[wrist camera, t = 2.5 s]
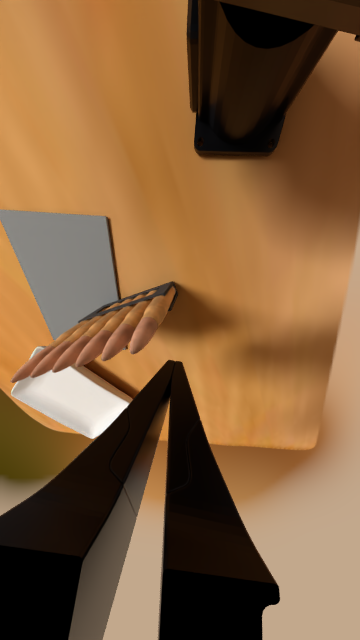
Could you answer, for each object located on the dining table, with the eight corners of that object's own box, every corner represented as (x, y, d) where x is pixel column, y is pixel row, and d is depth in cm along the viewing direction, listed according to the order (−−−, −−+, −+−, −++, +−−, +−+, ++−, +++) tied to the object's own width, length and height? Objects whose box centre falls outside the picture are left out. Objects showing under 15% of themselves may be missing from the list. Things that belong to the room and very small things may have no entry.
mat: (107, 217, 14) (105, 216, 14) (126, 348, 23) (125, 349, 22) (-1, 210, 15) (-5, 209, 15) (55, 338, 24) (53, 340, 23)
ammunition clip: (173, 280, 17) (140, 333, 6) (178, 294, 17) (157, 363, 7) (103, 305, 19) (-12, 374, 8) (110, 316, 20) (13, 393, 9)
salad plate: (54, 333, 23) (33, 345, 20) (147, 396, 29) (141, 413, 26) (25, 382, 32) (7, 396, 29) (100, 424, 37) (92, 440, 34)
